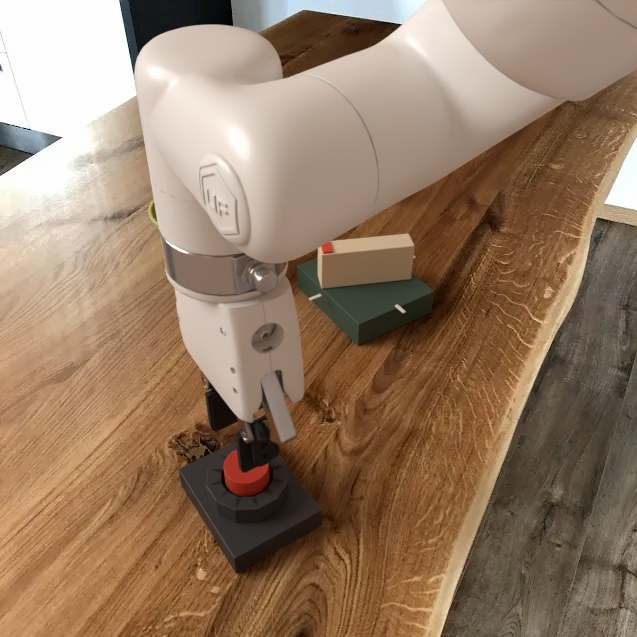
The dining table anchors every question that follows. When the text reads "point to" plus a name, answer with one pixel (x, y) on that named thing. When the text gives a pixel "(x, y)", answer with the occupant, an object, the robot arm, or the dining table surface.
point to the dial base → (367, 303)
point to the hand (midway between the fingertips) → (243, 439)
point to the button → (245, 477)
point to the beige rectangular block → (365, 260)
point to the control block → (250, 509)
